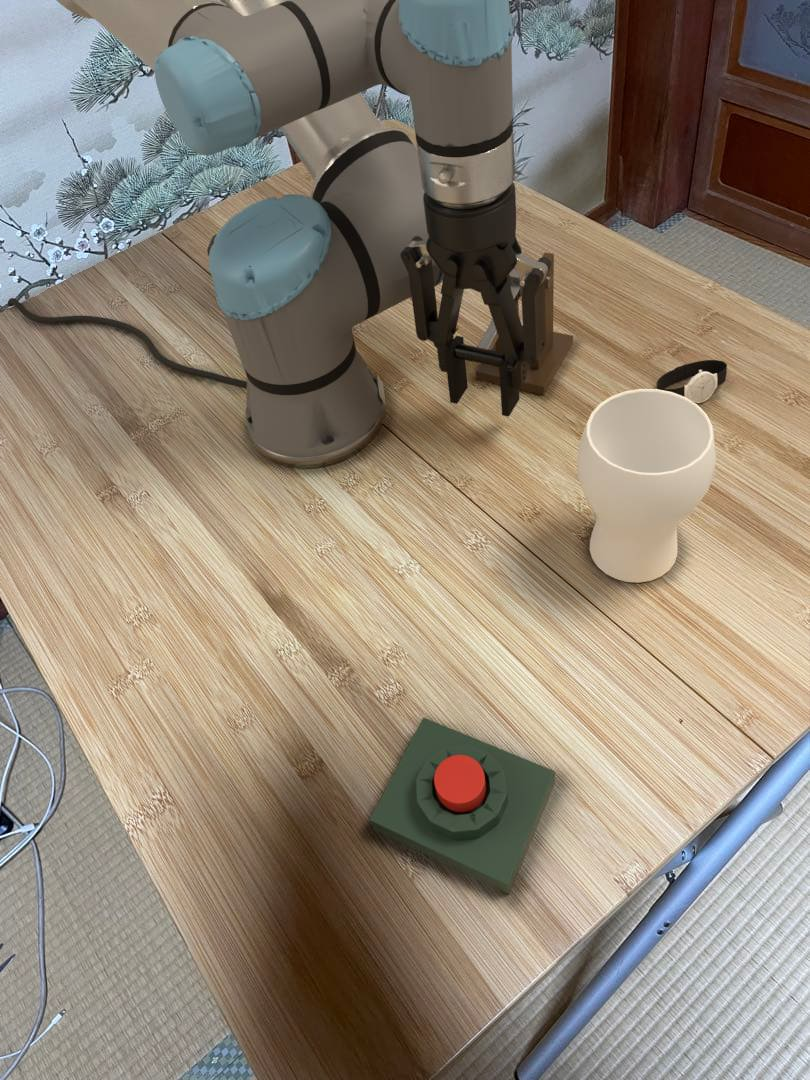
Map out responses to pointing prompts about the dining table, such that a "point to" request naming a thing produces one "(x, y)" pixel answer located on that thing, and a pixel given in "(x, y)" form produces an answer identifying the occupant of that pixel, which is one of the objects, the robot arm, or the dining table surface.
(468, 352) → the lever
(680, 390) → the watch
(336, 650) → the dining table surface
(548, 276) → the bracket
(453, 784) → the button
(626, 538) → the cup
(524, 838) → the button box
